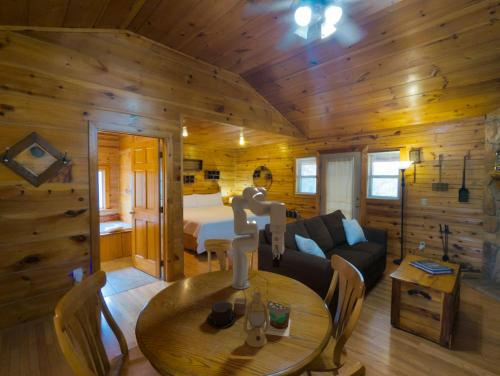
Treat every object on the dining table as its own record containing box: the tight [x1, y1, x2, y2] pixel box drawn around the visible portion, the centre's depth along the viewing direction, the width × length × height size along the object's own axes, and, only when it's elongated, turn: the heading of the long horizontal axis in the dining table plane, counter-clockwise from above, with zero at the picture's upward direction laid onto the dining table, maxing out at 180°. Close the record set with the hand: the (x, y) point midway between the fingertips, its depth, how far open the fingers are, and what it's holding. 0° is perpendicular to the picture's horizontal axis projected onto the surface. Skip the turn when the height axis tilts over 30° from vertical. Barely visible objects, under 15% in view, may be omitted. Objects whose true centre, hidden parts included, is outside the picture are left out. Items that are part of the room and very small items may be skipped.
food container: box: [266, 299, 292, 329], centre depth 118 cm, size 12×6×10 cm, turn 53°
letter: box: [262, 317, 292, 338], centre depth 119 cm, size 14×12×1 cm
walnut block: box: [233, 297, 248, 316], centre depth 132 cm, size 6×6×6 cm
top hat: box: [206, 300, 238, 330], centre depth 124 cm, size 15×15×10 cm
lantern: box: [242, 272, 270, 348], centre depth 107 cm, size 12×10×30 cm
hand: (277, 263), depth 118 cm, fingers open, 9 cm apart
